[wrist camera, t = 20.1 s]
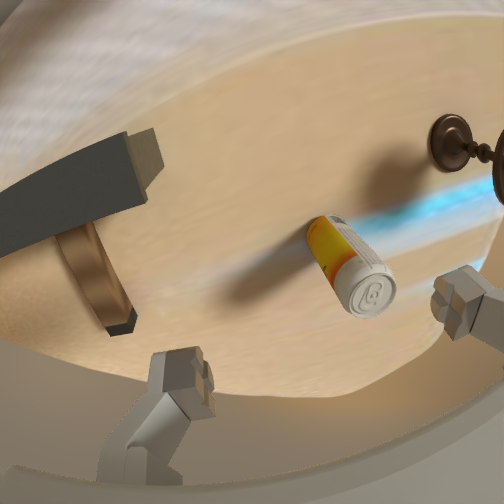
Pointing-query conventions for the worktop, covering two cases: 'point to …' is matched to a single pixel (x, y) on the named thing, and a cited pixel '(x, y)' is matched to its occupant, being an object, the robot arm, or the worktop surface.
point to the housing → (79, 189)
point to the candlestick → (465, 149)
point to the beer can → (351, 267)
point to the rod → (98, 278)
